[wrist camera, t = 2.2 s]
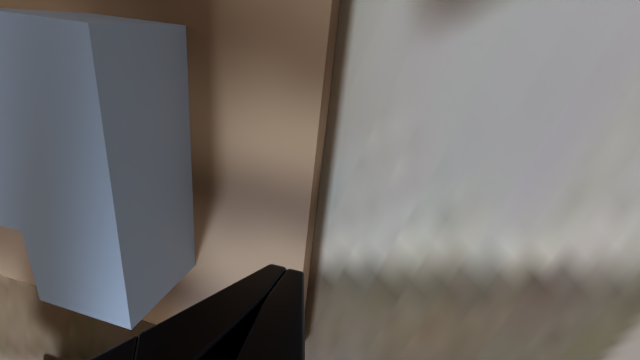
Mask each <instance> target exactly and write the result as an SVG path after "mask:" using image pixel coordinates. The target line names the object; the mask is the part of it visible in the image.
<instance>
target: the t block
mask: <svg viewBox="0 0 640 360" xmlns="http://www.w3.org/2000/svg"><path fill="white" fill-rule="evenodd" d="M0 226H3V227H7V228H10V229H14V230H17V231H21V232H22V235H23V238H24V242H25V246H26V250H27V254H28V257H29V261H30V265H31V269H32V272H33V276H34V280H35V284H36V288H37V291H38V295H39V299H40V300H41V301H44V302H47V303H50V304H53V305H56V306H59V307H62V308H66V309H69V310H72V311H75V312H78V313H81V314H84V315H87V316H90V317H93V318H96V319H99V320H102V321H105V322H108V323H111V324H114V325H117V326H120V327H123V328H127V329H130V330H132V329H133V328H134V327H135V326H136V325H137V324H138V323H139V322H140V321H141V320H142V319H143V318H144V317H145V316H146V315H147V314H148V313H149V312H150V311H151V310H152V309H153V307H154V306H155V305H156V304H157V303H158V302H159V301H160V300H161V299H162V298H163V297H164V296H165V295H166V294H167V293H168V292H169V291H170V290H171V289H172V288H173V287H174V286H175V285H176V284H177V283H178V282H179V281H180V280H181V279H182V278H183V277H184V276H185V275H186V274H187V273H188V272H189V271H190V270H191V269H192V268H193V267H194V266H195V265H196V264H195V239H194V215H193V190H192V166H191V141H190V116H189V92H188V67H187V42H186V25H179V24H171V23H163V22H155V21H147V20H140V19H132V18H124V17H116V16H109V15H101V14H93V13H81V12H63V11H46V10H28V9H10V8H0Z"/></svg>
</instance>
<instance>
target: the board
mask: <svg viewBox="0 0 640 360" xmlns="http://www.w3.org/2000/svg"><path fill="white" fill-rule="evenodd" d="M340 2H341V0H0V8H10V9H28V10H46V11H63V12H81V13H93V14H101V15H109V16H116V17H124V18H132V19H140V20H147V21H155V22H163V23H171V24H179V25H186V42H187V67H188V92H189V116H190V141H191V166H192V190H193V215H194V239H195V264H196V265H195V266H194V267H193V268H192V269H191V270H190V271H189V272H188V273H187V274H186V275H185V276H184V277H183V278H182V279H181V280H180V281H179V282H178V283H177V284H176V285H175V286H174V287H173V288H172V289H171V290H170V291H169V292H168V293H167V294H166V295H165V296H164V297H163V298H162V299H161V300H160V301H159V302H158V303H157V304H156V305H155V306H154V307H153V309H152V310H151V311H150V312H149V313H148V314H147V315H146V316H145V317H144V318H143V319H142V320H143V321H146V322H149V323H153V324H156V325H157V324H159V323H161V322H162V321H164V320H166V319H168V318H170V317H172V316H174V315H175V314H177V313H179V312H181V311H183V310H185V309H187V308H189V307H190V306H192V305H194V304H196V303H198V302H200V301H202V300H204V299H205V298H207V297H209V296H211V295H213V294H215V293H217V292H219V291H220V290H222V289H224V288H226V287H228V286H230V285H232V284H234V283H235V282H237V281H239V280H241V279H243V278H245V277H247V276H249V275H250V274H252V273H254V272H256V271H258V270H260V269H262V268H264V267H265V266H267V265H269V264H275V265H279V266H283V267H286V269H294V270H298V271H302V272H303V273H304V275H305V306H306V297H307V289H308V280H309V271H310V263H311V254H312V245H313V237H314V228H315V219H316V210H317V202H318V193H319V184H320V176H321V167H322V158H323V150H324V141H325V132H326V124H327V115H328V106H329V98H330V89H331V80H332V72H333V63H334V54H335V45H336V37H337V28H338V19H339V11H340ZM0 275H2V276H5V277H8V278H12V279H15V280H18V281H21V282H24V283H27V284H30V285H33V286H36V284H35V280H34V276H33V272H32V269H31V265H30V261H29V257H28V254H27V250H26V246H25V242H24V238H23V235H22V232H21V231H17V230H14V229H10V228H7V227H3V226H0Z"/></svg>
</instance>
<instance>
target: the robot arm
mask: <svg viewBox="0 0 640 360" xmlns="http://www.w3.org/2000/svg"><path fill="white" fill-rule="evenodd" d="M90 360H305V275H304V273H303V272H302V271H298V270H294V269H286V267H283V266H279V265H275V264H269V265H267V266H265V267H264V268H262V269H260V270H258V271H256V272H254V273H252V274H250V275H249V276H247V277H245V278H243V279H241V280H239V281H237V282H235V283H234V284H232V285H230V286H228V287H226V288H224V289H222V290H220V291H219V292H217V293H215V294H213V295H211V296H209V297H207V298H205V299H204V300H202V301H200V302H198V303H196V304H194V305H192V306H190V307H189V308H187V309H185V310H183V311H181V312H179V313H177V314H175V315H174V316H172V317H170V318H168V319H166V320H164V321H162V322H161V323H159V324H157V325H155V326H153V327H151V328H149V329H147V330H146V331H144V332H142V333H140V334H139V335H138V337H137V336H134V337H132V338H130V339H128V340H127V341H125V342H123V343H121V344H119V345H117V346H115V347H113V348H111V349H109V350H107V351H105V352H103V353H101V354H99V355H97V356H96V357H94V358H92V359H90Z"/></svg>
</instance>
